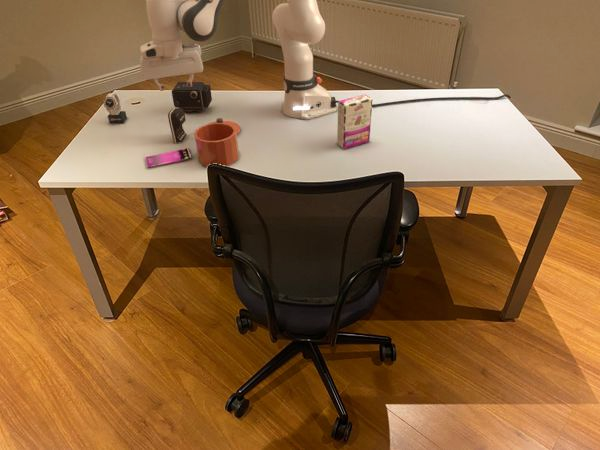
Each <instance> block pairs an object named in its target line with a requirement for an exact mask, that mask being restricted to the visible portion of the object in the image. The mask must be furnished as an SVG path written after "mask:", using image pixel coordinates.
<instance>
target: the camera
mask: <svg viewBox="0 0 600 450" xmlns="http://www.w3.org/2000/svg"><path fill="white" fill-rule="evenodd" d="M171 96H172V102H173V106H174V108H181V109H183V111H184V112H188V113H190V112H193V111H194V112H197V113H202V112H203V111H204V110H205V109H208V108H209V107H210V105H211V103H212V101H213V97H212V89H211V84H206V83H204V82H203V81H192V87H188V86H187V81H177V83H176V84H175V86H174V87H173V89H172V90H171Z"/></svg>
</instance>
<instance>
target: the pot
mask: <svg viewBox="0 0 600 450" xmlns="http://www.w3.org/2000/svg"><path fill="white" fill-rule="evenodd" d="M210 123H211V124H209V123H207V124H204V125H202V126H199V127H198V128H196V129H195V131H194V133H193V136H194V141H195V146H196V147H195V148H196V152H197V158H198V161H199V163H200V164H201V165H203V166H205V167H208V165H209V164H213V163H217V164H221V165H225V166H224V167H227V166H230V165H232V164H234V163H235V162H237V160H238V159H239V155H240V152H239V151H240V150H239V144H238V137H237V136H238V134H237V135H236V129H235V128H234V127H233V126H232V125H230V124H226V123H212V122H210Z"/></svg>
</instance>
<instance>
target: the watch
mask: <svg viewBox="0 0 600 450" xmlns="http://www.w3.org/2000/svg"><path fill="white" fill-rule="evenodd" d="M102 104H103V107H104V108H105V109H106V112H108V115H107V119H108V122H109V124H125V122H126V121H127V120H128V116H127V113H126V110H121V109H122V107H121V106H122V105H121V99H120V98H119V95H118V94H117V93H115V92H113V93H112V92H111V93H107V95H106V96H105V98H104V99H103V101H102Z"/></svg>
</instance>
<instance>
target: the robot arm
mask: <svg viewBox="0 0 600 450" xmlns="http://www.w3.org/2000/svg"><path fill="white" fill-rule="evenodd" d="M224 2H225V0H198V1H197V0H145V6H146V13H147V15H146V16H147V20H148V25H149V26H150V28H151V39H152V40H150V41H148V42H146V43H144V44H141V45H140V46H139V50H140V54H141V55H140V57H139V66H140V73H141V77H142V79H144V81H145V80H146V81H148V80H154V83H155V84H156V85H157V86H158V88H159V91H160V92H162V91H163V92H164V91H165V87H164V84H163V83H160V82H159V81H160V79H163V78H171V77H179V76H184V75H188V76H189V78H188V80H186V82H187V86H188V87H192V82H193V80H194V78H195V74H201V73H203V71H204V63H203V60H202V54H203V52H202V48H201V46H200V45H199V44H196V43H190V44H189V43H187V44H183V43H182V36H181V33H185V34H186V36H187V37H188V38H189V39H191V40H192V41H195V42H200V43H201V42H206V41H208V40H210V39H211V38H212V37H214V35H215V33H216V30H217V27H218V26H217V25H218V20H219V19H218V18H219V14H220V11H221V9H222V6H223V4H224ZM271 20H272V24H273V27H274V28H275V30H276V32H277V35H278V39H279V42H280V43H279V44H280V47H281V51H282V55H283V67H284V75H283V91H284V97H283V103H282V104H283V105H282V109H281V111H282V113H283V114H284V115H285V116H287V117H290V118H295V119H296V118H298V119H302V120H308V121H309V120H311V119H314V118H318V117H321V116H325V115H328V114H332V113H334V112H338V105H337V104H338V101H339V100H336V97H335V96H331V94H330V92H329V91H328V90H327V89H326V88H325V87H323V86H322V85H320V84H322V82H323V79H322V78H321V77H319V76H317V75H316V74H314V55H313V53H312V50H311V48H310V45H316V44H318V43H319V42H321V40H322V39H323V38H324V35H325V32H326V23H325V20H324V19H323V17H322V15H321V12H320V9H319V6H318V2H317V0H286V2H284V3H280V4H278V5H277V6H276V7H275V8H274V9H273V11H272V15H271ZM505 97H506V98H508V99H511V96H510V94H502V95H499V96H490V97H489V96H447V97H445V96H443V97H425V98H413V99H405V100H397V101H396V100H395V101H389V102H381V103H375V104H373V103H372V108H375V107H381V106H388V105H396V104H403V103H413V102H426V101H441V100H442V101H443V100H444V101H445V100H499V99H500V100H501V99H502V98H505Z"/></svg>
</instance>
